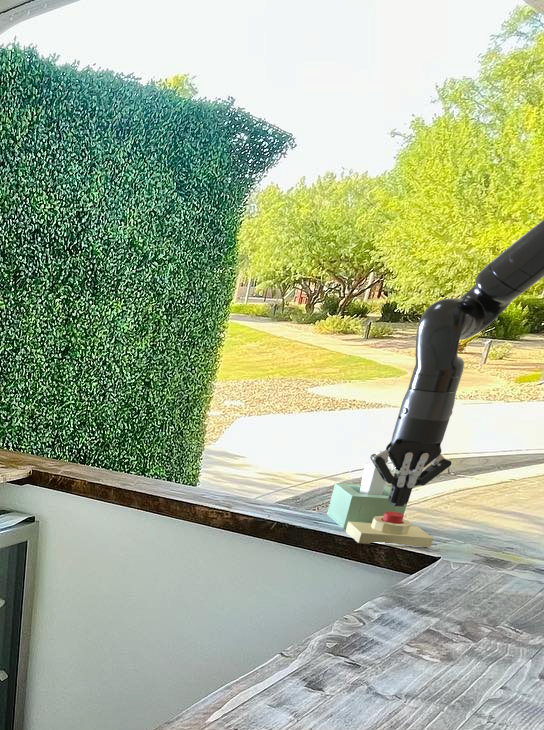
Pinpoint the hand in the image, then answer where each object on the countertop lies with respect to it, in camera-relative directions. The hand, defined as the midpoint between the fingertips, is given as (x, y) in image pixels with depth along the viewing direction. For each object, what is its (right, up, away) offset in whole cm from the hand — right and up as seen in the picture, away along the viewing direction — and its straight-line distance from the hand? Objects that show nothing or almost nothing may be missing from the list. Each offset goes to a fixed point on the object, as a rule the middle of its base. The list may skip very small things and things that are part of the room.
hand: (396, 505), depth 146 cm
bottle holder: (+2, -3, +12) cm, 12 cm away
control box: (0, -7, +3) cm, 7 cm away
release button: (0, -3, +1) cm, 4 cm away
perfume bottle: (+2, -3, +12) cm, 12 cm away
